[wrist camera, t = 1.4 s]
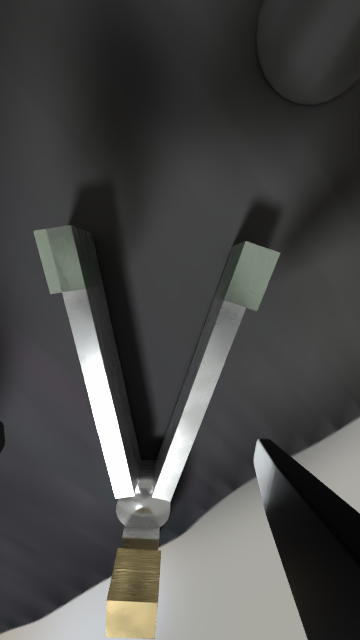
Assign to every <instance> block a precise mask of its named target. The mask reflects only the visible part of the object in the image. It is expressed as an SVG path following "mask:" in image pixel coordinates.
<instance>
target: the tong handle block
mask: <svg viewBox="0 0 360 640" xmlns="http://www.w3.org/2000/svg"><path fill="white" fill-rule="evenodd" d="M155 466H156V460H152V459H143V460H141V464H140V470H139V475H138V480H137V485H136V490H135V496H131V497H123V498H119V499H118V502H117V506H116V513H117V516H118V518H119V520H120V521H121V523H122V524H124V525H125V527H124V532H123V537H122V548H124V549H142V550H158V544H159V531H160V527H161V526H162V525H164V524H165V523H166V521H167V520H168V518H169V515H170V501H166V500H162V499H157V498H153V497H152V492H153V484H154V475H155Z"/></svg>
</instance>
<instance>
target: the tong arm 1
mask: <svg viewBox="0 0 360 640" xmlns="http://www.w3.org/2000/svg"><path fill="white" fill-rule="evenodd" d="M33 232H34V235H35V239H36V243H37V247H38V250H39V254H40V258H41V261H42V265H43V269H44V272H45V276H46V280H47V283H48V287H49V291H50V294H54V293H61V292H62V294H63V298H64V302H65V305H66V309H67V313H68V317H69V321H70V325H71V329H72V332H73V336H74V340H75V344H76V348H77V352H78V356H79V359H80V363H81V367H82V371H83V375H84V379H85V383H86V386H87V390H88V394H89V398H90V402H91V406H92V410H93V413H94V417H95V421H96V425H97V429H98V433H99V437H100V440H101V444H102V448H103V452H104V456H105V460H106V464H107V467H108V471H109V475H110V479H111V483H112V487H113V491H114V494H115V498H123V497H131V496H135V490H136V485H137V480H138V475H139V470H140V464H141V457H140V453H139V448H138V443H137V439H136V434H135V430H134V425H133V420H132V416H131V411H130V407H129V402H128V397H127V393H126V388H125V384H124V379H123V374H122V370H121V365H120V361H119V356H118V351H117V347H116V342H115V338H114V333H113V328H112V324H111V319H110V315H109V310H108V305H107V301H106V296H105V292H104V287H103V282H102V278H101V273H100V269H99V264H98V260H97V255H96V250H95V246H94V241H93V237H92V233H90V232H87V231H84V230H82V229H79V228H77V227H74V226H71V225H69V226H62V227H56V228H49V229H43V230H36V231H33Z"/></svg>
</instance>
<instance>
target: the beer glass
mask: <svg viewBox="0 0 360 640" xmlns="http://www.w3.org/2000/svg"><path fill="white" fill-rule="evenodd" d="M256 46H257V54H258V59H259V63H260V66H261V69H262V71H263V74H264V76H265V77H266V79H267V81H268V82H269V84H270V85H271V86H272V88H273V89H274V90H275V91H276V92H277V93H278V94H280V95H281V96H282V97H284V98H285V99H287V100H289V101H292V102H294V103H298V104H303V105H315V104H320V103H324V102H327V101H329V100H332V99H334V98H335V97H337V96H339V95H340V94H342V93H343V92H345V91H346V90H347V89H348V88H349V87H351V86H352V85H353V84H354V82H355V81H356V80H357V79H358V78H359V77H360V0H263V3H262V6H261V9H260V13H259V17H258V23H257V32H256Z"/></svg>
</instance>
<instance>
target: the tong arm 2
mask: <svg viewBox="0 0 360 640" xmlns="http://www.w3.org/2000/svg"><path fill="white" fill-rule="evenodd" d="M279 255H280V253H279V252H276V251H273V250H270V249H268V248H265V247H262V246H259V245H256V244H253V243H250V242H247V241H244V242H242V243H239V244H237V245H234V246H233V247H232V250H231V252H230V255H229V258H228V261H227V264H226V266H225V269H224V272H223V275H222V278H221V280H220V283H219V286H218V289H217V292H216V294H215V297H214V300H213V303H212V306H211V309H210V311H209V314H208V317H207V320H206V323H205V325H204V328H203V331H202V334H201V337H200V339H199V342H198V345H197V348H196V351H195V353H194V356H193V359H192V362H191V365H190V368H189V370H188V373H187V376H186V379H185V382H184V384H183V387H182V390H181V393H180V396H179V398H178V401H177V404H176V407H175V410H174V412H173V415H172V418H171V421H170V424H169V427H168V429H167V432H166V435H165V438H164V441H163V443H162V446H161V449H160V452H159V455H158V457H157V460H156V466H155V475H154V484H153V492H152V497H153V498H157V499H162V500H166V501H171V499H172V496H173V493H174V491H175V488H176V486H177V483H178V481H179V478H180V476H181V473H182V470H183V468H184V465H185V463H186V460H187V458H188V455H189V452H190V450H191V447H192V445H193V442H194V440H195V437H196V435H197V432H198V429H199V427H200V424H201V422H202V419H203V417H204V414H205V412H206V409H207V406H208V404H209V401H210V399H211V396H212V394H213V391H214V388H215V386H216V383H217V381H218V378H219V376H220V373H221V371H222V368H223V365H224V363H225V360H226V358H227V355H228V353H229V350H230V348H231V345H232V342H233V340H234V337H235V335H236V332H237V330H238V327H239V324H240V322H241V319H242V317H243V314H244V312H245V309H246V308H249V309H252V310H255V311H257V310H258V307H259V305H260V302H261V300H262V297H263V295H264V293H265V290H266V288H267V285H268V283H269V280H270V278H271V275H272V273H273V270H274V268H275V265H276V263H277V260H278V258H279Z"/></svg>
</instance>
